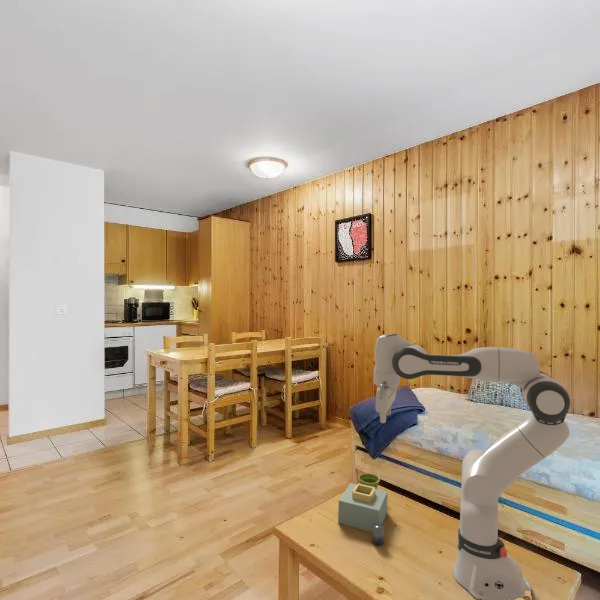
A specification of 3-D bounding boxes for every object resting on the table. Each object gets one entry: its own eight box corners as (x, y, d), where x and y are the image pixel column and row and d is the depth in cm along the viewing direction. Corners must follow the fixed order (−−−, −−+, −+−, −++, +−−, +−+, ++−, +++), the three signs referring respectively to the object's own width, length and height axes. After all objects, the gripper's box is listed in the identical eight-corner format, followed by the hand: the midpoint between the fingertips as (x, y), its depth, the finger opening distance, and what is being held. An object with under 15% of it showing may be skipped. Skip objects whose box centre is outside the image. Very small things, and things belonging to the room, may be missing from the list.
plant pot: (374, 505, 168) (375, 485, 167) (354, 498, 173) (355, 479, 173) (382, 496, 175) (383, 476, 175) (363, 489, 181) (363, 471, 180)
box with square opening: (386, 512, 162) (387, 485, 162) (378, 534, 147) (379, 504, 147) (349, 503, 168) (350, 477, 168) (338, 522, 154) (338, 494, 154)
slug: (384, 541, 143) (384, 524, 143) (382, 547, 140) (382, 530, 139) (373, 537, 145) (374, 522, 145) (371, 544, 141) (371, 527, 141)
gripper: (390, 386, 126) (389, 429, 126) (399, 375, 145) (398, 412, 145) (371, 384, 128) (370, 426, 129) (382, 373, 147) (381, 409, 148)
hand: (385, 418), depth 137 cm, fingers open, 8 cm apart
